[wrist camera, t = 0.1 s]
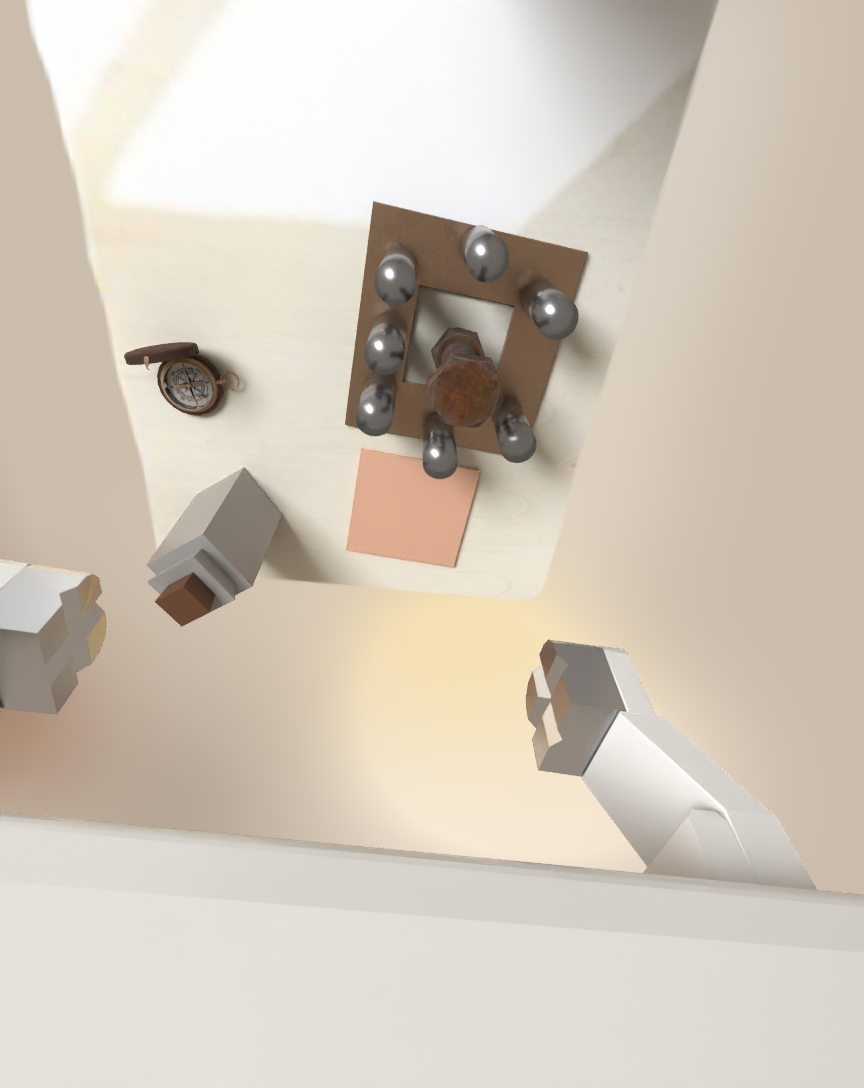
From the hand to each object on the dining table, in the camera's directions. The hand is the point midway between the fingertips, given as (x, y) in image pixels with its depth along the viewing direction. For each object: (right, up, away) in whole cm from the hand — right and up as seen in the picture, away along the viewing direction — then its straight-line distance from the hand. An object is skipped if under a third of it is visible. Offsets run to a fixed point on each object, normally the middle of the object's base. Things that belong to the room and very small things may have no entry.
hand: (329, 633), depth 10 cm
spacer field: (+4, +21, +44) cm, 48 cm away
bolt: (+4, +21, +44) cm, 49 cm away
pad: (0, +5, +54) cm, 54 cm away
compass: (-21, +19, +45) cm, 53 cm away
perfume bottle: (-20, +6, +53) cm, 57 cm away
